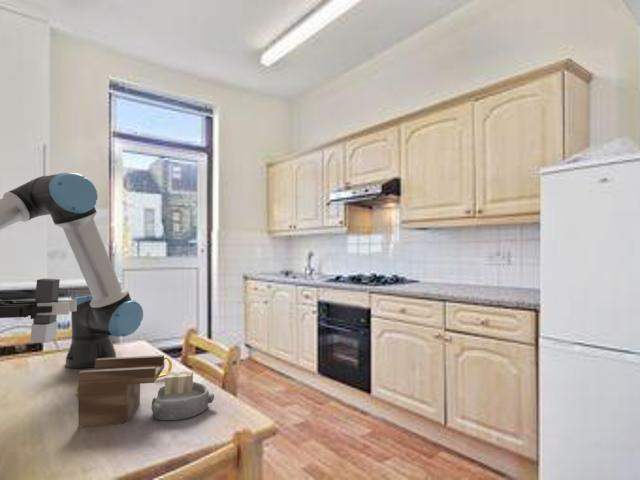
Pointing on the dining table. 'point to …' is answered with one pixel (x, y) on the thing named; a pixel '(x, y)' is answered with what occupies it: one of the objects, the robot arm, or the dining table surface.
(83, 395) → the slot board
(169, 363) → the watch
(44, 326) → the dark gray upright block
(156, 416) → the dish
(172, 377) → the cream block
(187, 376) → the cream square block
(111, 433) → the dining table surface
